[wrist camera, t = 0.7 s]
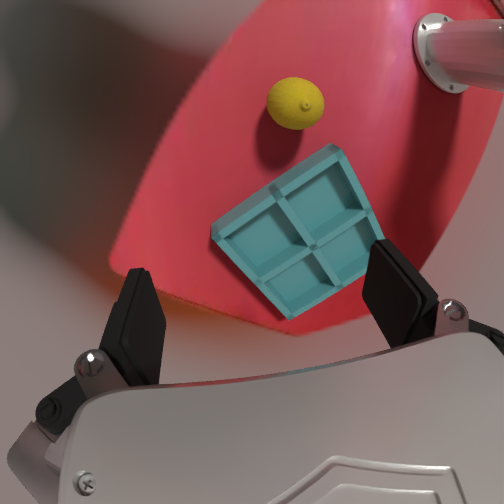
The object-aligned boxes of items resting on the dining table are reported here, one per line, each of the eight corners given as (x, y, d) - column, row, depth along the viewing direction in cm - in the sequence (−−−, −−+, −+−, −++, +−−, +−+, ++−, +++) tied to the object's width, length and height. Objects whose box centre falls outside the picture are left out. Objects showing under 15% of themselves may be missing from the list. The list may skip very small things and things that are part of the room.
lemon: (308, 126, 30) (334, 136, 24) (260, 124, 30) (274, 133, 23) (309, 81, 27) (337, 79, 21) (261, 77, 27) (275, 72, 20)
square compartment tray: (330, 142, 32) (341, 148, 29) (380, 243, 40) (391, 255, 37) (211, 224, 36) (211, 237, 33) (284, 305, 44) (289, 320, 41)
